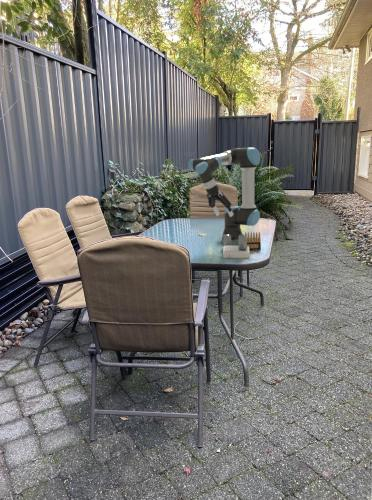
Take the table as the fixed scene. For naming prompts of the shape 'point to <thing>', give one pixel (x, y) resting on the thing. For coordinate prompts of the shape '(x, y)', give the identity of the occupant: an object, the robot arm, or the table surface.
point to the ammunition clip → (254, 241)
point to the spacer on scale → (242, 242)
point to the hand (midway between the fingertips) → (225, 215)
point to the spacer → (227, 240)
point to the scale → (235, 252)
